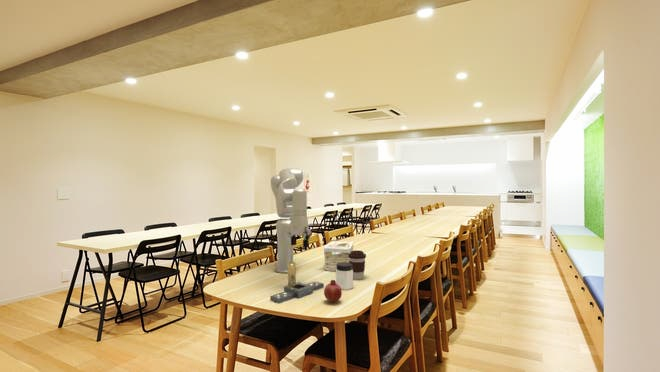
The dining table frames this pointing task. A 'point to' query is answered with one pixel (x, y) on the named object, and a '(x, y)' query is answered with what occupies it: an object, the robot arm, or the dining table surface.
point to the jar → (344, 275)
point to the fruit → (332, 291)
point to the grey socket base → (296, 291)
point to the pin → (291, 273)
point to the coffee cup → (357, 264)
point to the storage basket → (336, 254)
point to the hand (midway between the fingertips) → (299, 246)
